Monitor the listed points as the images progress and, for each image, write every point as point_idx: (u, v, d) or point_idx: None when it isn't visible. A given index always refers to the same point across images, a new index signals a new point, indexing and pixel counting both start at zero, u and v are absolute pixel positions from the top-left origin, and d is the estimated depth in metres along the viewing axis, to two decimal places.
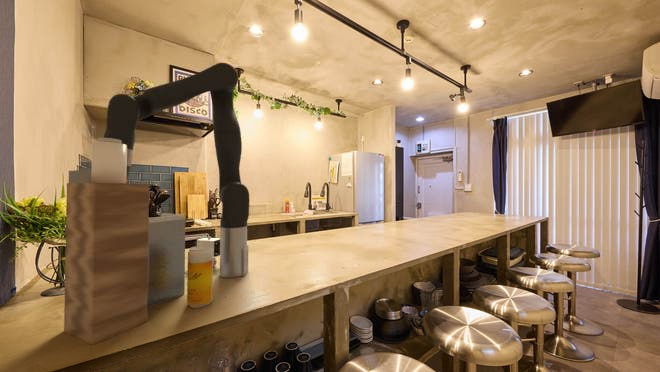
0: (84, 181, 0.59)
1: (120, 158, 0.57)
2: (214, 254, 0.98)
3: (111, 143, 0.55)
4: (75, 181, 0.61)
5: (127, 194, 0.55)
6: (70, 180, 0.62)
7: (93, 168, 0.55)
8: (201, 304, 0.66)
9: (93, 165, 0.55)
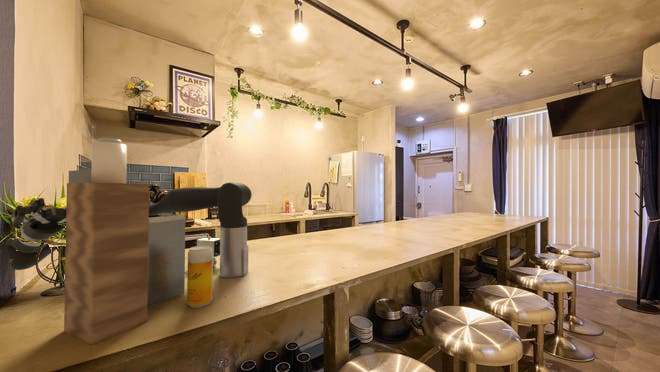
0: (84, 181, 0.59)
1: (120, 158, 0.57)
2: (214, 254, 0.98)
3: (111, 143, 0.55)
4: (75, 181, 0.61)
5: (127, 194, 0.55)
6: (70, 180, 0.62)
7: (93, 168, 0.55)
8: (201, 304, 0.66)
9: (93, 165, 0.55)
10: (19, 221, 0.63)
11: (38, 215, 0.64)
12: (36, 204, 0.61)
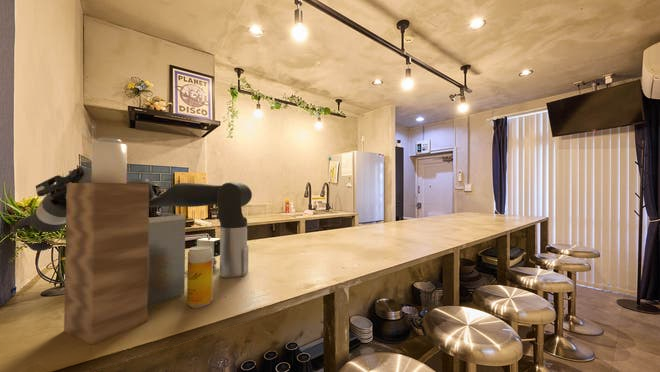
0: (84, 181, 0.59)
1: (120, 158, 0.57)
2: (214, 254, 0.98)
3: (111, 143, 0.55)
4: None
5: (127, 194, 0.55)
6: None
7: (93, 168, 0.55)
8: (201, 304, 0.66)
9: (93, 165, 0.55)
10: (48, 191, 0.58)
11: None
12: (75, 173, 0.58)
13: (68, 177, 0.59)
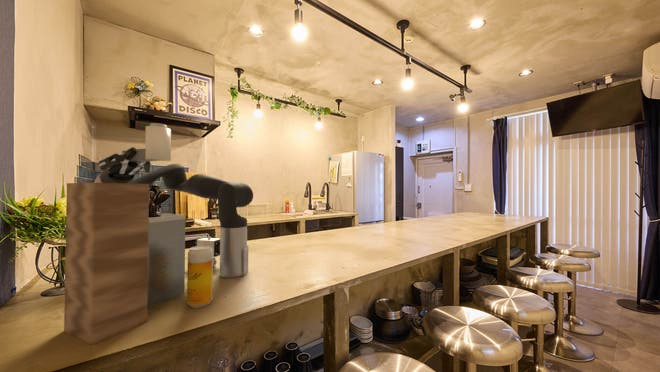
0: (137, 158, 0.74)
1: (167, 139, 0.72)
2: (214, 254, 0.98)
3: (161, 127, 0.70)
4: None
5: (127, 194, 0.55)
6: None
7: (147, 146, 0.70)
8: (201, 304, 0.66)
9: (147, 144, 0.70)
10: (109, 166, 0.74)
11: (126, 163, 0.76)
12: (130, 152, 0.73)
13: (124, 155, 0.74)
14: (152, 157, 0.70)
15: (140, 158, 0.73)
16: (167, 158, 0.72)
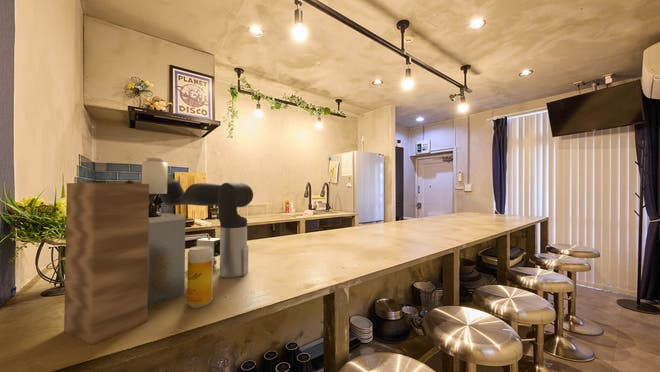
0: None
1: (163, 173, 0.72)
2: (214, 254, 0.98)
3: (157, 162, 0.70)
4: None
5: (127, 194, 0.55)
6: None
7: (143, 182, 0.70)
8: (201, 304, 0.66)
9: (143, 179, 0.70)
10: None
11: None
12: None
13: None
14: None
15: None
16: (163, 192, 0.72)
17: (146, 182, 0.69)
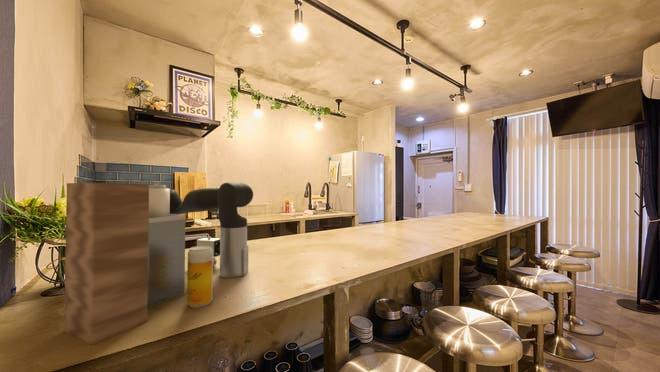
0: None
1: (166, 200, 0.72)
2: (214, 254, 0.98)
3: (160, 189, 0.70)
4: None
5: (127, 194, 0.55)
6: None
7: None
8: (201, 304, 0.66)
9: None
10: None
11: None
12: None
13: None
14: None
15: None
16: None
17: (149, 209, 0.69)
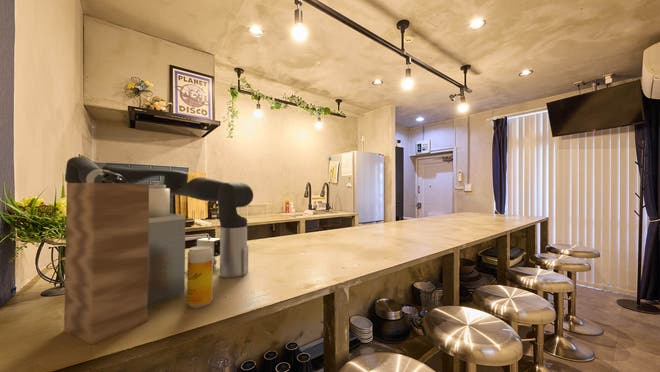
0: None
1: (166, 200, 0.72)
2: (214, 254, 0.98)
3: (160, 189, 0.70)
4: None
5: (127, 194, 0.55)
6: None
7: None
8: (201, 304, 0.66)
9: None
10: (101, 178, 0.80)
11: None
12: None
13: (116, 180, 0.80)
14: None
15: None
16: None
17: (149, 209, 0.69)
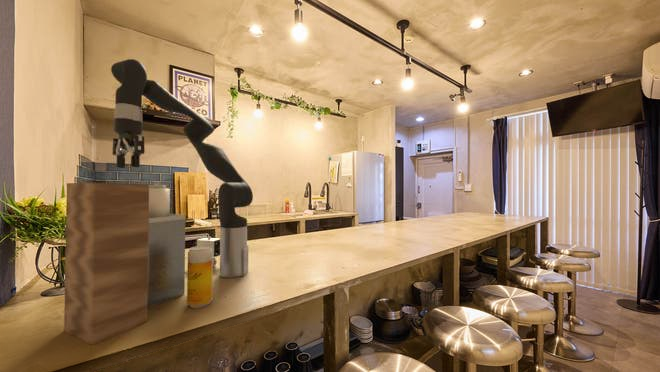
0: None
1: (166, 200, 0.72)
2: (214, 254, 0.98)
3: (160, 189, 0.70)
4: None
5: (127, 194, 0.55)
6: None
7: None
8: (201, 304, 0.66)
9: None
10: (134, 141, 0.82)
11: (130, 150, 0.83)
12: (135, 164, 0.83)
13: (137, 156, 0.84)
14: None
15: None
16: None
17: (149, 209, 0.69)
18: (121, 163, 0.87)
